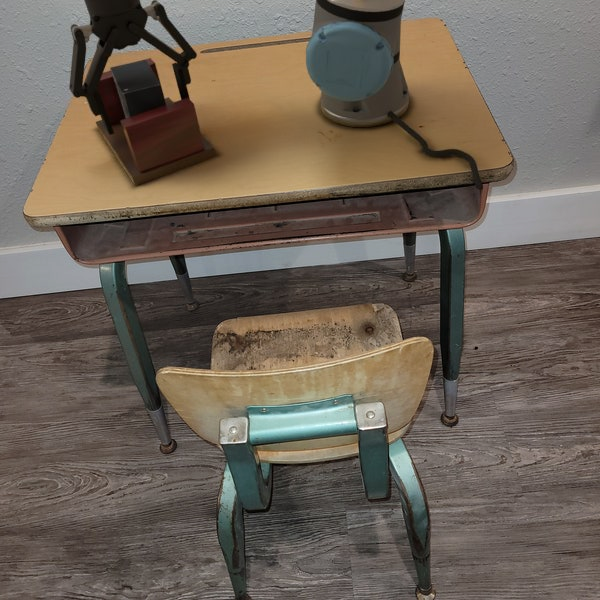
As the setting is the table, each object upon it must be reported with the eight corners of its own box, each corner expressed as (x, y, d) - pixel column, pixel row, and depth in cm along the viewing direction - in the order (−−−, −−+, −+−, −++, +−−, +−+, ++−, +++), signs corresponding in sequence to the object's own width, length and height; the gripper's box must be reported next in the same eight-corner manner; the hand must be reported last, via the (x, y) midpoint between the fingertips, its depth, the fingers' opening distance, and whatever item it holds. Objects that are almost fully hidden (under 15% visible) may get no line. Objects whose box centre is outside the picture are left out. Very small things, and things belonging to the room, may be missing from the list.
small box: (178, 143, 98) (162, 82, 90) (140, 154, 97) (120, 94, 89) (163, 115, 105) (146, 56, 97) (127, 125, 104) (107, 67, 96)
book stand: (216, 155, 97) (204, 101, 90) (135, 186, 93) (116, 132, 86) (170, 104, 110) (157, 54, 104) (98, 129, 107) (79, 78, 100)
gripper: (178, -50, 89) (208, 84, 104) (11, -4, 82) (69, 132, 97) (197, -38, 84) (226, 101, 99) (22, 12, 77) (81, 153, 93)
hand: (148, 117), depth 98 cm, fingers open, 13 cm apart
